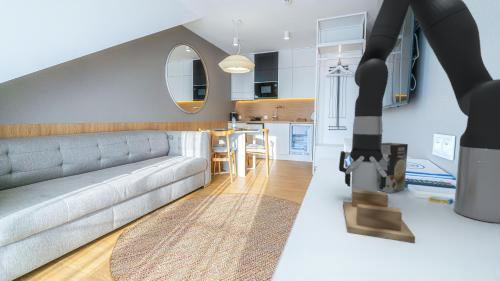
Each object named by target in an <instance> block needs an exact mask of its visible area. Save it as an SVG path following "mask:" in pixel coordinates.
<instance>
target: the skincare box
mask: <svg viewBox="0 0 500 281" xmlns="http://www.w3.org/2000/svg"><path fill="white" fill-rule="evenodd" d="M351 162H352V164H353V163H354V161H353V160H351ZM357 163H358V162H357ZM378 163H379V162H378ZM375 164H376V163H375V162H369V161H362V162H360V164H359V165H358V166H357V167H356V168H355V169H353V170H352V171H351V191H352V190H361V191H371V192H379V190H378V170H377V168H376V167H375ZM377 167H378V166H377Z"/></svg>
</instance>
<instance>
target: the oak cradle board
mask: <svg viewBox="0 0 500 281" xmlns="http://www.w3.org/2000/svg"><path fill="white" fill-rule="evenodd" d="M388 203H389V195H388V192H382V191H381V192H380V191H378V192H371V191H361V190H352V189H351V201H344V200H343V201H342V208H343V213H344V214H343V215H344V218H345V225H346V226H345V227H346V230H347V231H346V232H347V233H349V234H350V233H352V234H357V235H363V236H370V237H377V238H383V239H390V240H395V241H400V242H401V241H403V242H406V243H407V242H408V243H414V244H415V242H416V236H415V234H414V233H413V232H412V230H411V229H410V228H409V227H408V225H407V224H406V222H405V221H404V220H403V219H402V218H403V217H402V215H403V211H401V210H400V208H394V207H393V206H388V205H389V204H388Z"/></svg>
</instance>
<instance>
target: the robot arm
mask: <svg viewBox="0 0 500 281" xmlns="http://www.w3.org/2000/svg"><path fill="white" fill-rule="evenodd" d="M409 8H410V9H411V11H412V13H413V14H414V17H415V19H416V21H417V23H418V26H419V27H420V29H421V31H422V33H423V35H424V38H425V40H426V41H427V43H428V45H429V47H430V48H431V50H432V52H433V53H434V56H435V58H436V59H437V60H438V61H437V62H439V64H440V65H441V68H442V69H443V71H444V73H445V74H446V76H447V78H448V81H449V83H450V86H451V88H452V90H453V93H454V96H455V100H456V102H457V106H458V108H459V110H460V111H461V112H462V113H463V114H464V116H467V122H466V127H465V130H464V132H463V133H462V134H461V136H460V138H459V150H458V159H457V161H458V162H457V171H456V181H455V182H456V183H455V192H454V193H455V194H454V202H453V210H454V212H456V213H457V214H459V215H461V216H464V217H467V218H471V219H474V220H477V221H482V222H489V223H494V224H495V223H496V224H497V223H500V78H499V79H493V77H492V75H491V73H490V72H489V70H488V69H487V67H486V65H485V64H484V61H483V57H482V51H481V50H482V48H481V39H480V31H479V28H478V27H479V26H478V24H477V21H476V20H475V18H474V17H473V14H472V13H471V11H470V9H469V7H468V6H467V4H466V3H465V2H464V0H382V3H381V6H380V8H379V11H378V12H377V15H376V18H375V21H374V23H373V25H372V28H371V32H370V34H369V37H368V40H367V43H366V46H365V50H364V52H363V54H362V56H361V57H360V58H361V59H360V60H359V63H358V65H357V68H356V70H355V72H354V77H353V78H354V83H355V85H356V86H357V87H358V95H357V97H356V100H355V104H354V118H353V124H352V143H351V151H344V150H341V151H340V153H339V154H340V155H339V162H338V164H339V165H338V170H339V172H341V173H344V183H345V185H346V186H347V187H351V180H352V170H353V169H355V168H356V167H357V166H358V165H359V164H360V162H362V161H369V162H375V163H376V164H375V167H376V168H377V170H378V172H379V173H380V175H379V189H382V190H383V188H385V186H386V177H387V176H389V175H394V155H393V154H391V153H388V154H382V152H381V144H382V143H383V132H384V129H383V126H384V125H383V107H384V106H383V105H384V102H383V101H384V97H385V93H386V89H387V86H388V80H389V68H388V66H387V64H386V62H387V59H388V57H389V56H390V55H391V54H392V52H393V51H394V49H395V47H396V46H397V45H396V44H397V42H398V39H399V36H400V33H401V31H402V28H403V25H404V22H405V19H406V16H407V13H408V10H409ZM348 157H350V158H351V160H352V161H354V163H353V164H352V161H351V162H350V164H349V165H348V166H347V167H345V162H346V160H347V159H349V158H348ZM382 158H384V159H385V161H387V170H386V171H384V170H383V169H382V167H381V166H380V165H379V163H378V162H379V161H380V160H381V159H382ZM357 162H358V163H357ZM377 166H378V167H377Z"/></svg>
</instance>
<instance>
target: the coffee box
mask: <svg viewBox="0 0 500 281" xmlns="http://www.w3.org/2000/svg"><path fill="white" fill-rule="evenodd" d="M408 148H409V144H408V143H398V142H396V143H395V142H382V144H381V152H382V154H388V153H391V154H393V155H394V175H389V176H387V177H386V186H385V188H383V190H382V189H379V175H380V173H379V172H378V191H379V192H380V191H381V192H383V193H387V194H393V193H397V192H400V190H401V191H403V190H402V189H404V190H405V189H406V188H405V187H406V175H407V174H406V173H407V162H408V160H407V159H408ZM379 165H380V166H381V167H382V169H383V170H384V171H386V170H387V161H385V159H384V158H382V159H381V160H380V161H379ZM404 185H405V187H404Z"/></svg>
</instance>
